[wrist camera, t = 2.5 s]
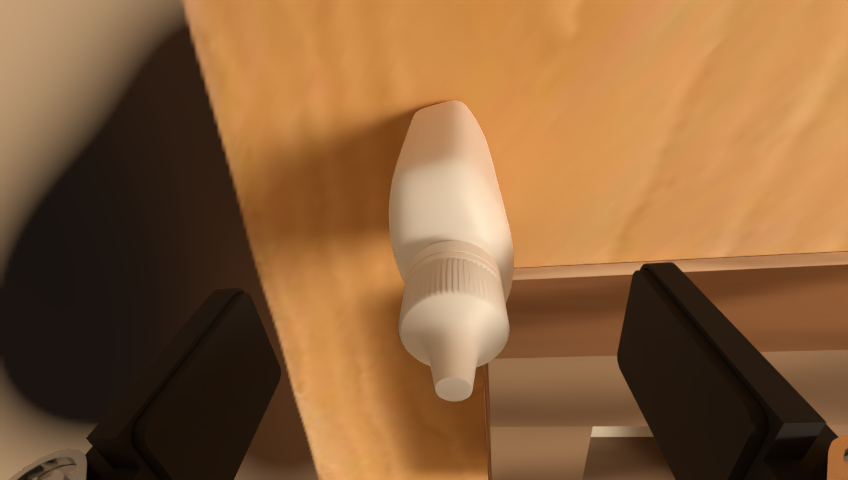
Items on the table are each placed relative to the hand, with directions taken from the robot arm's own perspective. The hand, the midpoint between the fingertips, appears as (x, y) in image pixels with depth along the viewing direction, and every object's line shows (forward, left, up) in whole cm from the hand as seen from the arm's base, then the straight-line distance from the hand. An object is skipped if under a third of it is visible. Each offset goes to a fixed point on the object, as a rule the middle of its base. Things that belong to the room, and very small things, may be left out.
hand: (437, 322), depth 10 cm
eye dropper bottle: (-1, 0, -10) cm, 10 cm away
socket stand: (+14, +10, -10) cm, 20 cm away
